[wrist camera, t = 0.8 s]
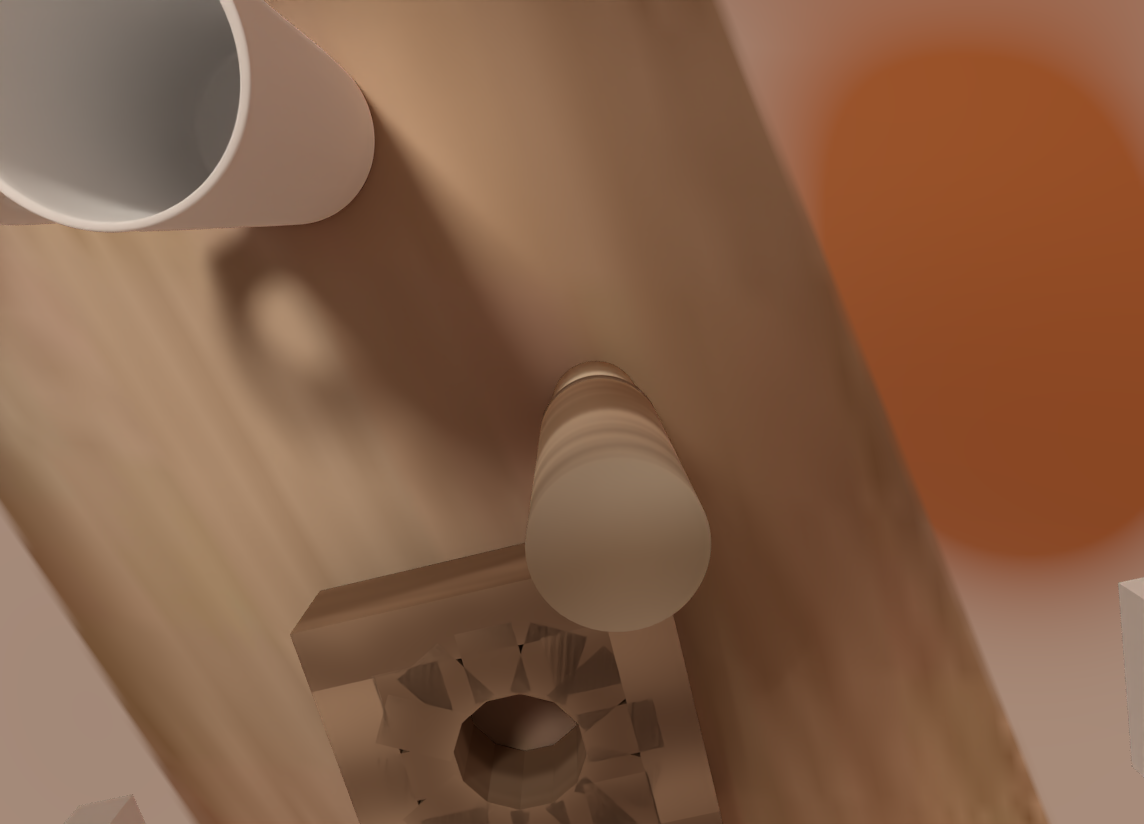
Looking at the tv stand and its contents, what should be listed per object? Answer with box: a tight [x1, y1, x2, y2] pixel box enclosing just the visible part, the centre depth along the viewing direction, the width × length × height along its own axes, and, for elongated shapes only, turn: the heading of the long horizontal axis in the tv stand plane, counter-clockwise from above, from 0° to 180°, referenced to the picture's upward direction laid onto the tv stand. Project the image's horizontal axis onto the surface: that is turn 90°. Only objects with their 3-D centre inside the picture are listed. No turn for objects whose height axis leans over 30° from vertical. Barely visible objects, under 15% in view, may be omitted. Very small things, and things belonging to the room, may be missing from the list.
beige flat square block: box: [290, 543, 723, 824], centre depth 31 cm, size 14×14×4 cm
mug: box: [0, 0, 375, 232], centre depth 22 cm, size 10×7×12 cm, turn 116°
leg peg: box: [525, 361, 711, 632], centre depth 23 cm, size 4×4×14 cm
